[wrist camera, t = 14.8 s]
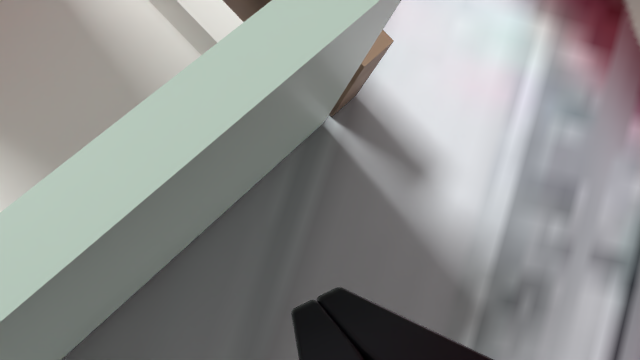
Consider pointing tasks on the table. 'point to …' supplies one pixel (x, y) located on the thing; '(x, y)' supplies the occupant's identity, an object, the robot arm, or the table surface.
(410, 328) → the robot arm
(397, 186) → the table surface
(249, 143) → the tray
